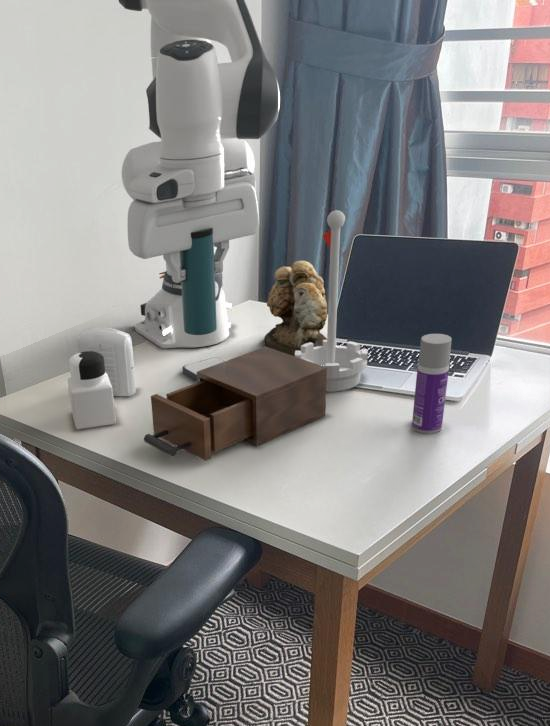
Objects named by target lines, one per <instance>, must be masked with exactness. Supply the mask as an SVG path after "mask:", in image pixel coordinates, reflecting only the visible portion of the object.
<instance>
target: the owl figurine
mask: <svg viewBox="0 0 550 726" xmlns="http://www.w3.org/2000/svg"><path fill="white" fill-rule="evenodd" d="M273 276H274V280H275V283H274V284H273V285H272V287H271V290H270V291H269V292H268V301H267V302H266V306H267V307H269V312H270V314H271V315H273V317H275V318H277V317H278V318H279V319H281V320H282V322H280V323H277V324H275V327H273V328H271V329H270V330H269V331H268V332H266V334H265V336H264V338H263V339H264V347H265V346H266V347H269V348H272V349H275V350H277V351H280V352H283V353H286V354H289V355H292V356H295V351H301V345H304V344H306V343H309V342H311V343H313V344H314V347H317V346H323V340H327V336H326V335H324V334H323V333H321V331H322V330H323V329H324V327H325V325H326V321H327V320H328V303H327V302H328V301H327V300H326V295H325V294H326V290H325V287H324V286H325V285H324V284H325V281H324V279H323V277H322V276H320V275H319V274H318V273H317V272H316V269H315V267H314V265H313V264H312V263H311V262H310V261H306V260H296V261H294V262H293V263H292V264H291V266H282V267H279V268H278V269H276V270H275V272H274V275H273Z"/></svg>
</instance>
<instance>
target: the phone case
mask: <svg viewBox="0 0 550 726" xmlns="http://www.w3.org/2000/svg"><path fill="white" fill-rule="evenodd" d="M224 361H226V360H225V359H222V358H220V357H216V356H215V357H210V358H207V359H203V360H199V361H196V362H192V363H188V364H185V365H183V366H182V368H181V369H182V372H181V373H182V374H183V375H184V376H186V377H188V378H190V379H191V380H193V381H195V382H197V371H200V370H203V369H205V368H208V367H211V366H214V365H216V364H219V363H222V362H224Z"/></svg>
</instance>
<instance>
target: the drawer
mask: <svg viewBox="0 0 550 726" xmlns="http://www.w3.org/2000/svg"><path fill="white" fill-rule="evenodd" d="M150 404H151V405H150V406H151V417H152V428H153V434H150V433H146V434H145V435H144V437H143V442H144V443H146V444H147V445H150V446H151V447H153V448H154V449H157V450H159V451H160V452H162V453H164V454H166V455H167V456H170V457H172V458H173V457H175V456H177V454H178V452H180V451H182V450H184V451H185V452H187V453H190V454H191V455H193V456H195V457H197V458H199V459H201V460H203V461H205V462H207V461H209V460H212V452H214V453H216V452H218V451H220V450H223V449H225V448H227V447H229V446H232V445H235V444H237V443H239V442H241V441H244V439H246V438H248V437H251V436H253V404H252V399H250V398H247V397H245V396H242V395H240V394H238V393H235V392H233V391H230V390H228V389H226V388H223V387H221V386H218V385H216V384H214V383H211V382H209V381H206V380H202V381H200V382H197V381H196V382H195V383H192V384H189V385H186V386H184V387H182V388H179V389H176V390H174V391H171V392H167V393H166V397H164V396H162V395H159V394H157V393H155V394H152V395H150ZM160 438H161V439H163V440H161V439H160ZM164 440H165V441H164ZM169 443H170V444H169ZM171 444H172V445H171ZM173 445H174V446H173Z"/></svg>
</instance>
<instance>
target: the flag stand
mask: <svg viewBox="0 0 550 726" xmlns="http://www.w3.org/2000/svg"><path fill="white" fill-rule="evenodd" d="M345 222H346V216H345V214H344V212H343V211H341V210H338V209H336V210H333V211H331V212H329V214H328V215H327V219H326V223H327V225H328V226H329V228H330V230H328V231H327V232H325V233H324V234H322V237H323V239H324V242H325V243H326V245H327V247H328V249H329V251H330V253H329V278H328V301H327V302H328V303H327V329H326V330H327V331H326V332H327V333H326V338H327V340H323V346H317V347H314V344H313V343H311V342H309V343H306V344H304V345H301V351H295V357H298V358H301V359H303V360H306V361H309V362H312V363H315V364H318V365H322V366H323V365H324V367H327V385H326V392H340V391H342V392H343V391H346V390H350V389H352V388H355V387H357V386H358V385H359V384H360V382H361V373H362V372H363V371H364V370H365V369H366V368H367V367H368V353H369V351H368V349H367V348H361V343H358V342H355V341H351V340H349V341H347V342H346V345H337V341H338V340H337V317H338V316H337V314H338V295H339V294H338V291H339V273H340V271H339V270H340V269H339V268H340V249H341V248H340V246H341V228H342V227H343V226H344V224H345Z"/></svg>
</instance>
